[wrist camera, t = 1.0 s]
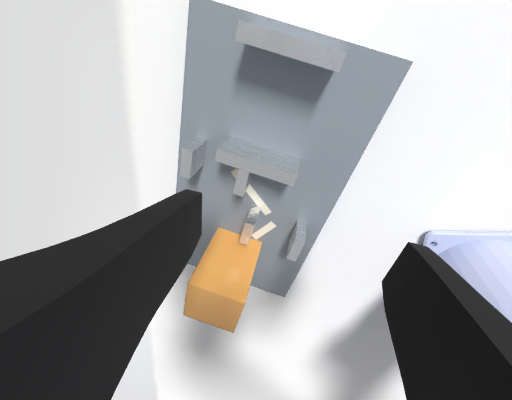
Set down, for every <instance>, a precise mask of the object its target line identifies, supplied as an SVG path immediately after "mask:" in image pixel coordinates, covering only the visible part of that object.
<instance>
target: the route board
mask: <svg viewBox="0 0 512 400" xmlns="http://www.w3.org/2000/svg"><path fill="white" fill-rule="evenodd" d="M238 19H239V20H242V21H245V22H248V23H252V24H255V25H258V26H261V27H265V28H268V29H271V30H275V31H278V32H281V33H284V34H288V35H291V36H294V37H298V38H301V39H304V40H307V41H311V42H314V43H317V44H320V45H324V46H327V47H330V48H334V49H337V50H340V51H343V52H347V54H346V56H345V59H344V61H343V64H342V66H341V69H340V71H339V72H335V71H332V70H329V69H326V68H322V67H319V66H316V65H313V64H310V63H306V62H303V61H300V60H297V59H293V58H290V57H287V56H284V55H280V54H277V53H274V52H271V51H267V50H264V49H261V48H258V47H255V46H251V45H248V44H245V43H242V42H238V41H235V37H236V31H237V25H238ZM412 63H413V62H412V61H409V60H406V59H402V58H399V57H396V56H392V55H389V54H386V53H383V52H379V51H376V50H373V49H369V48H366V47H363V46H359V45H356V44H353V43H350V42H346V41H343V40H340V39H336V38H333V37H330V36H326V35H323V34H320V33H317V32H313V31H310V30H307V29H303V28H300V27H297V26H294V25H290V24H287V23H284V22H280V21H277V20H274V19H270V18H267V17H264V16H261V15H257V14H254V13H251V12H247V11H244V10H241V9H237V8H234V7H231V6H228V5H224V4H221V3H218V2H214V1H211V0H189V13H188V28H187V42H186V57H185V71H184V86H183V100H182V115H181V129H180V144H179V158H178V173H177V187H176V193H178V192H181V191H183V190H185V189H189V190H193V191H197V192H201V193H202V235H201V237H200V240H199V242H198V244H197V246H196V248H195V250H194V252H193V254H192V256H191V258H190V260H189V262H188V263H189V264H192V265H195V266H197V265H198V264H199V262H200V260H201V258H202V256H203V254H204V253H205V251H206V249H207V247H208V245H209V244H210V242H211V240H212V238H213V236H214V234H215V233H216V231H217V229H218V227H219V228H222V229H225V230H228V231H231V232H234V233H237V234H240V235H241V234H242V231H243V227H244V224H245V221H246V219H247V216H248V214H249V211H250V209H251V207H252V204H254V205H257V206H258V207H261V209H260V212H259V215H258V218H257V221H256V224H255V227H254V230H253V233H252V235H251V239H254V240H257V241H260V242H262V245H261V248H260V252H259V256H258V259H257V263H256V266H255V270H254V273H253V277H252V280H251V284H250V285H252V286H254V287H257V288H260V289H263V290H266V291H269V292H272V293H274V294H277V295H280V296H283V297H285V295H286V294H287V292H288V290H289V288H290V286H291V284H292V283H293V281H294V279H295V277H296V275H297V273H298V272H299V270H300V268H301V266H302V264H303V262H304V261H305V259H306V257H307V255H308V253H309V251H310V250H311V248H312V246H313V244H314V242H315V240H316V239H317V237H318V235H319V233H320V231H321V229H322V228H323V226H324V224H325V222H326V220H327V219H328V217H329V215H330V213H331V211H332V209H333V208H334V206H335V204H336V202H337V200H338V198H339V197H340V195H341V193H342V191H343V189H344V187H345V186H346V184H347V182H348V180H349V178H350V176H351V175H352V173H353V171H354V169H355V167H356V165H357V164H358V162H359V160H360V158H361V156H362V154H363V153H364V151H365V149H366V147H367V145H368V143H369V142H370V140H371V138H372V136H373V134H374V132H375V131H376V129H377V127H378V125H379V123H380V121H381V120H382V118H383V116H384V114H385V112H386V110H387V109H388V107H389V105H390V103H391V101H392V99H393V98H394V96H395V94H396V92H397V90H398V88H399V87H400V85H401V83H402V81H403V79H404V77H405V76H406V74H407V72H408V70H409V68H410V66H411V65H412ZM198 136H199V137H202V138H205V139H207V146H206V153H205V160H204V165H203V166H202V167H201V168H200V169H199V170H198V171H197V172H196V173H195V174H194V175H193V176H192V177H191V178H190V179H188V178H185V177H182V176H180V167H181V154H182V148H183V147H184V146H186V145H187V144H188V143H190V142H191V141H192V140H194V139H195V138H196V137H198ZM229 136H232V137H235V138H238V139H241V140H244V141H247V142H250V143H253V144H256V145H259V146H262V147H266V148H269V149H272V150H275V151H278V152H281V153H284V154H287V155H290V156H293V157H296V158H299V159H300V165H299V172H298V176H297V179H296V181H295V184H294V186H290V185H287V184H284V183H281V182H278V181H275V180H272V179H269V178H266V177H262V176H259V175H256V174H253V175H252V179H251V182H250V184H249V186H248V188H247V190H246V192H245V194H244V196H243V197H241V196H238V195H235V194H233V190H234V186H235V182H236V177H237V173H238V168H235V167H232V166H229V165H226V164H223V163H220V162H217V161H215V157H216V151H217V148H218V147H219V146H220V145H221V144H222V143H223V142H224V141H225V140H226V139H227V138H228V137H229ZM298 219H299V220H302V221H305V222H306V237H305V244H304V246H303V248H302V250H301V252H300V254H299V256H298V258H297V260H296V262H295V261H292V260H289V259H286V258H287V251H288V244H289V238H290V235H291V233H292V231H293V229H294V226H295V224H296V222H297V220H298Z"/></svg>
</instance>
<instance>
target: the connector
mask: <svg viewBox="0 0 512 400" xmlns="http://www.w3.org/2000/svg"><path fill="white" fill-rule="evenodd" d="M240 238H241V235H240V234H237V233H234V232H231V231H228V230H225V229H222V228H219V227H218V229H217V231H216V233H215V234H214V236H213V238H212V240H211V242H210V244H209V245H208V247H207V249H206V251H205V253H204V254H203V256H202V258H201V260H200V262H199V264H198V265H197V267H196V269H195V271H194V273H193V275H192V276H191V278H190V280H189V282H188V285H187V292H186V299H185V306H184V314H183V315H185V316H188V317H191V318H193V319H196V320H199V321H202V322H204V323H207V324H210V325H213V326H216V327H218V328H221V329H224V330H227V331H229V332H232V333H234V330H235V327H236V325H237V322H238V320H239V317H240V315H241V312H242V310H243V307H244V305H245V301H246V298H247V294H248V291H249V287H250V284H251V280H252V277H253V273H254V270H255V266H256V263H257V259H258V256H259V252H260V248H261V245H262V242H260V241H257V240H254V239H251V238H250V241H249V244H248V245H246V244H243V243H240V242H239V241H240Z"/></svg>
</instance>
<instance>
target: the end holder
mask: <svg viewBox="0 0 512 400" xmlns="http://www.w3.org/2000/svg"><path fill="white" fill-rule="evenodd" d="M235 41H238V42H242V43H245V44H248V45H251V46H255V47H258V48H261V49H264V50H267V51H271V52H274V53H277V54H280V55H284V56H287V57H290V58H293V59H297V60H300V61H303V62H306V63H310V64H313V65H316V66H319V67H322V68H326V69H329V70H332V71H335V72H339V71H340V69H341V66H342V64H343V61H344V59H345V56H346V54H347V52H343V51H340V50H337V49H334V48H330V47H327V46H324V45H320V44H317V43H314V42H311V41H307V40H304V39H301V38H298V37H294V36H291V35H288V34H284V33H281V32H278V31H275V30H271V29H268V28H265V27H261V26H258V25H255V24H252V23H248V22H245V21H242V20H239V19H238V25H237V31H236V37H235ZM215 161H217V162H220V163H223V164H226V165H229V166H232V167H235V168H238V169H241V170H244V171H247V172H250V173H253V174H256V175H259V176H262V177H266V178H269V179H272V180H275V181H278V182H281V183H284V184H287V185H290V186H294V184H295V181H296V179H297V176H298V172H299V165H300V159H299V158H296V157H293V156H290V155H287V154H284V153H281V152H278V151H275V150H272V149H269V148H266V147H262V146H259V145H256V144H253V143H250V142H247V141H244V140H241V139H238V138H235V137H232V136H229V137H228V138H227V139H226V140H225V141H224V142H223V143H222V144H221V145H220V146H219V147H218V148H217V151H216V157H215Z"/></svg>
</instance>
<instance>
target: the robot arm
mask: <svg viewBox="0 0 512 400" xmlns="http://www.w3.org/2000/svg"><path fill="white" fill-rule="evenodd" d="M201 235H202V193H201V192H197V191H193V190H189V189H185V190H183V191H181V192H178V193H176V194H174V195H172V196H170V197H168V198H166V199H164V200H162V201H160V202H158V203H156V204H154V205H152V206H149V207H147V208H145V209H143V210H141V211H139V212H137V213H135V214H133V215H131V216H128V217H126V218H123V219H121V220H119V221H116V222H115V223H112V224H109V225H107V226H105V227H103V228H100V229H98V230H95V231H93V232H90V233H87V234H85V235H82V236H79V237H76V238H74V239H71V240H68V241H65V242H62V243H59V244H56V245H54V246H50V247H47V248H44V249H41V250H37V251H34V252H30V253H27V254H24V255H20V256H17V257H14V258H10V259H6V260H3V261H0V400H111V398H112V396H113V394H114V392H115V390H116V388H117V386H118V384H119V382H120V380H121V378H122V376H123V374H124V372H125V370H126V368H127V366H128V364H129V362H130V360H131V358H132V356H133V354H134V352H135V350H136V348H137V346H138V344H139V342H140V340H141V338H142V336H143V335H144V333H145V331H146V329H147V327H148V325H149V323H150V321H151V320H152V318H153V316H154V315H155V313H156V311H157V310H158V308H159V307H160V305H161V304H162V302H163V300H164V299H165V297H166V296H167V294H168V293H169V291H170V290H171V288H172V287H173V285H174V283H175V282H176V280H177V279H178V277H179V276H180V274H181V273H182V271H183V269H184V268H185V266H186V265H187V263H188V262H189V260H190V258H191V256H192V254H193V252H194V250H195V248H196V246H197V244H198V242H199V240H200V237H201ZM431 242H434V243H431ZM382 289H383V299H384V307H385V313H386V317H387V321H388V325H389V330H390V334H391V338H392V342H393V346H394V349H395V353H396V357H397V361H398V365H399V369H400V373H401V377H402V381H403V385H404V390H405V394H406V399H407V400H512V232H494V231H430V232H428V233H427V234H426V235H425V239H424V242H423V245H419V244H414V243H410V242H408V243H407V245H406V246H405V248H404V249H403V251H402V252H401V254H400V255H399V257H398V258H397V260H396V261H395V263H394V264H393V266H392V267H391V269H390V270H389V272H388V273H387V275H386V276H385V278H384V279H383V281H382Z"/></svg>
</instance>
